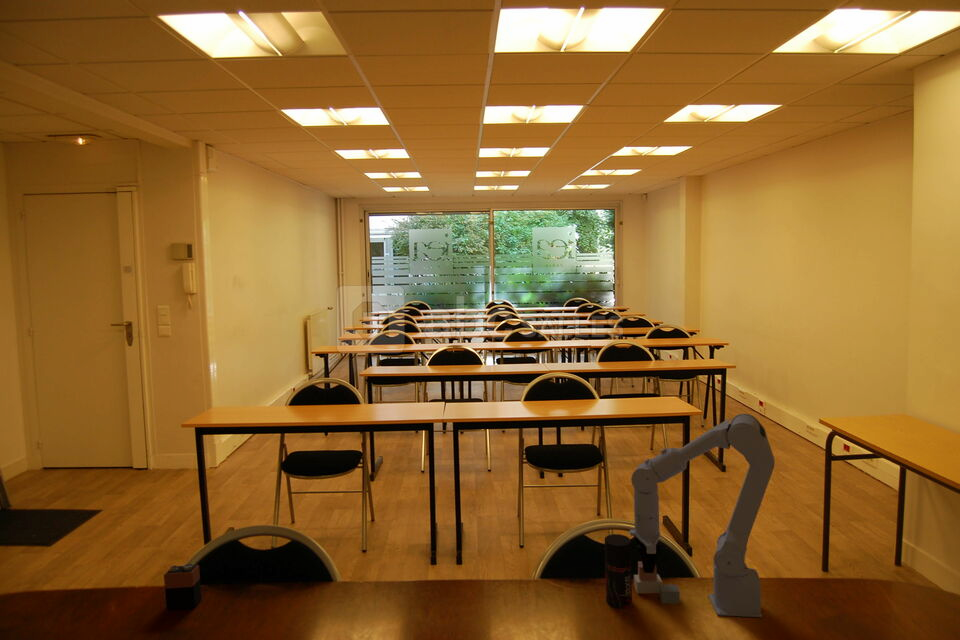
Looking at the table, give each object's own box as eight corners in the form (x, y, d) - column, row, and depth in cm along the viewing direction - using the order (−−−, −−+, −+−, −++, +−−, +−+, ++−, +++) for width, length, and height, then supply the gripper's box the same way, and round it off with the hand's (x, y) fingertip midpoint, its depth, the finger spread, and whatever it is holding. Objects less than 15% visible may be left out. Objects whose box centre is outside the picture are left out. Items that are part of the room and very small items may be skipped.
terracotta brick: (654, 573, 139) (654, 562, 139) (656, 580, 136) (656, 568, 136) (637, 573, 140) (637, 561, 140) (639, 579, 137) (639, 567, 137)
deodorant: (626, 611, 129) (624, 548, 128) (601, 603, 133) (600, 541, 132) (636, 599, 134) (634, 538, 133) (612, 592, 138) (611, 532, 137)
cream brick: (658, 586, 140) (658, 574, 140) (662, 593, 136) (662, 581, 136) (634, 586, 140) (633, 574, 140) (637, 594, 137) (637, 582, 137)
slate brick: (677, 597, 135) (676, 584, 135) (679, 604, 132) (679, 591, 132) (659, 596, 135) (659, 584, 135) (661, 603, 132) (661, 591, 132)
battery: (194, 609, 138) (191, 569, 137) (165, 611, 137) (162, 571, 137) (202, 599, 142) (199, 560, 141) (174, 601, 142) (171, 562, 141)
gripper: (626, 501, 145) (627, 553, 146) (633, 526, 130) (634, 583, 131) (655, 502, 144) (656, 554, 145) (664, 527, 129) (665, 584, 130)
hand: (647, 568), depth 138 cm, fingers closed on terracotta brick, 3 cm apart
